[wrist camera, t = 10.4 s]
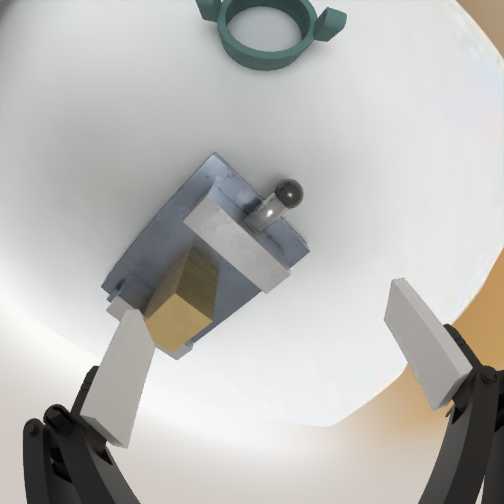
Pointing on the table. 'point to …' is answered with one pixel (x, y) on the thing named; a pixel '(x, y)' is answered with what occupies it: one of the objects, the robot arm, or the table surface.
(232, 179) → the vise
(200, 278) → the brass block
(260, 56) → the bracket
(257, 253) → the free jaw
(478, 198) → the table surface
